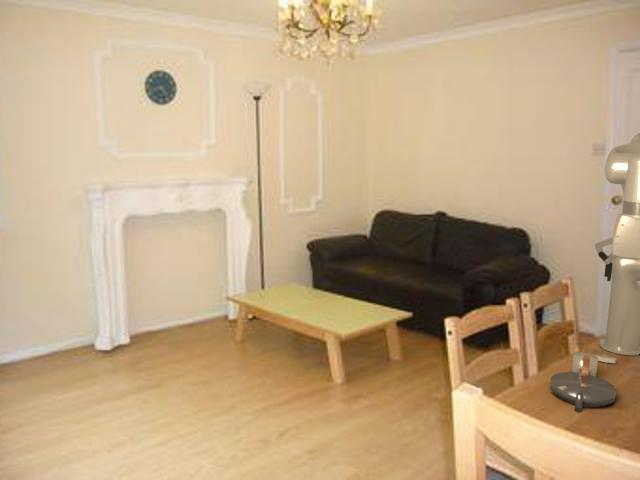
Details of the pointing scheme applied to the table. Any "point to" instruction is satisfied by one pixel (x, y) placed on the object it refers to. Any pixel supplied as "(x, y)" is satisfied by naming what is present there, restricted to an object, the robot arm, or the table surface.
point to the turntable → (583, 386)
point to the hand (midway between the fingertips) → (631, 282)
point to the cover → (579, 361)
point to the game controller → (606, 359)
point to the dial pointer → (579, 401)
